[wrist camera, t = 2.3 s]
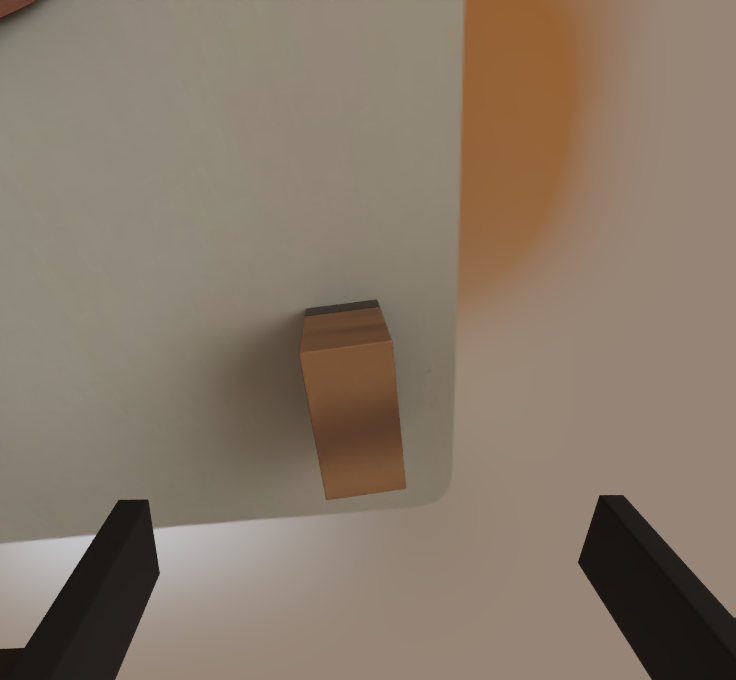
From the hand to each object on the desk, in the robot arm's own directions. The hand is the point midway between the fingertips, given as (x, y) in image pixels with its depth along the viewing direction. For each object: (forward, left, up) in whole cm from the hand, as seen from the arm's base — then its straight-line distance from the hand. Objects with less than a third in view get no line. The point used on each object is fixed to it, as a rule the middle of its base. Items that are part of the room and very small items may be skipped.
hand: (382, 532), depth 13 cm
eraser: (0, +2, -16) cm, 16 cm away
